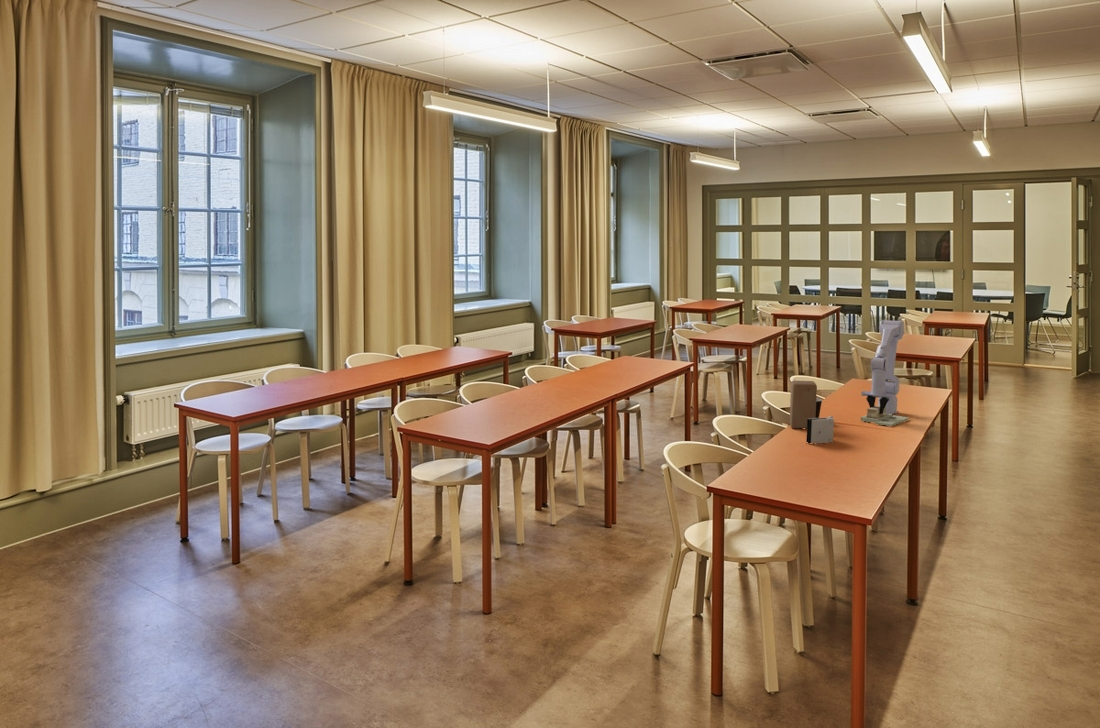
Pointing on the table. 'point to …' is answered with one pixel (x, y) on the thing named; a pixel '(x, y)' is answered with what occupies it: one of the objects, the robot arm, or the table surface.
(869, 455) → the table surface
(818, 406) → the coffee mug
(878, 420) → the sage cabinet frame
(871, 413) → the birch door
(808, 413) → the wooden block
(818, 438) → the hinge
